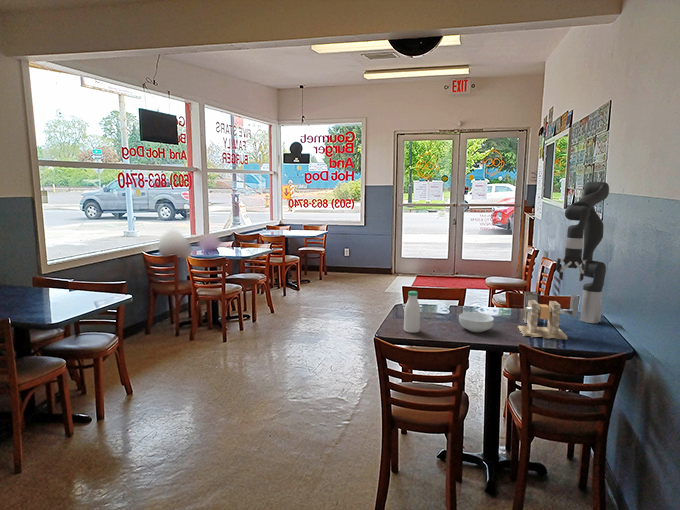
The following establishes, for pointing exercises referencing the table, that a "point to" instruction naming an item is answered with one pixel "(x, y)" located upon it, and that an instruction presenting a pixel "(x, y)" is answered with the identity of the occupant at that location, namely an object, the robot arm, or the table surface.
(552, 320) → the stand
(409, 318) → the milk bottle
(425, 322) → the table surface
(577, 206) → the robot arm
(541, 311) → the spacer
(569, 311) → the shaft
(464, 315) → the cereal bowl
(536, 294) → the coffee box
